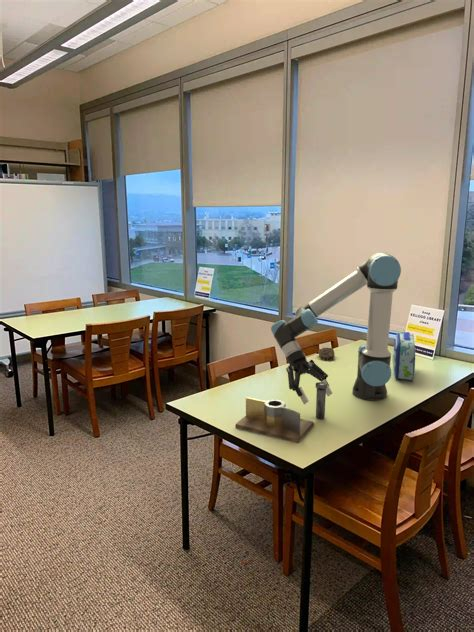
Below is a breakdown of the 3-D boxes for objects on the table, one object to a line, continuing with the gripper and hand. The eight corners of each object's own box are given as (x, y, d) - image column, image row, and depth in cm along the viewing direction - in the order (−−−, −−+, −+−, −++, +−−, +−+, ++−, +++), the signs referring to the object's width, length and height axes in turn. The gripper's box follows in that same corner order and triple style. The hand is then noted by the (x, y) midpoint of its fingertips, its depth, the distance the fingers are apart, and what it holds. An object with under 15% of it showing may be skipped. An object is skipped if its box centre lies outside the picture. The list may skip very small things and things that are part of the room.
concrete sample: (319, 354, 265) (319, 346, 264) (336, 356, 261) (337, 347, 260) (315, 359, 254) (315, 351, 253) (333, 361, 251) (333, 353, 250)
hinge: (307, 425, 170) (307, 405, 168) (299, 434, 163) (299, 414, 161) (250, 412, 182) (250, 394, 180) (240, 420, 174) (240, 401, 173)
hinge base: (313, 425, 174) (313, 421, 173) (298, 442, 160) (298, 439, 160) (254, 412, 186) (254, 408, 186) (235, 427, 172) (235, 423, 172)
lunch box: (391, 365, 243) (394, 328, 239) (412, 367, 240) (415, 329, 235) (391, 381, 219) (394, 340, 215) (415, 384, 216) (418, 342, 211)
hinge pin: (327, 416, 181) (328, 383, 178) (323, 420, 177) (325, 387, 174) (316, 414, 183) (317, 381, 180) (312, 418, 180) (313, 385, 176)
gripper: (310, 353, 197) (334, 395, 189) (266, 364, 183) (290, 410, 174) (319, 344, 192) (344, 387, 183) (275, 354, 178) (300, 402, 169)
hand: (318, 398), depth 179 cm, fingers open, 13 cm apart
